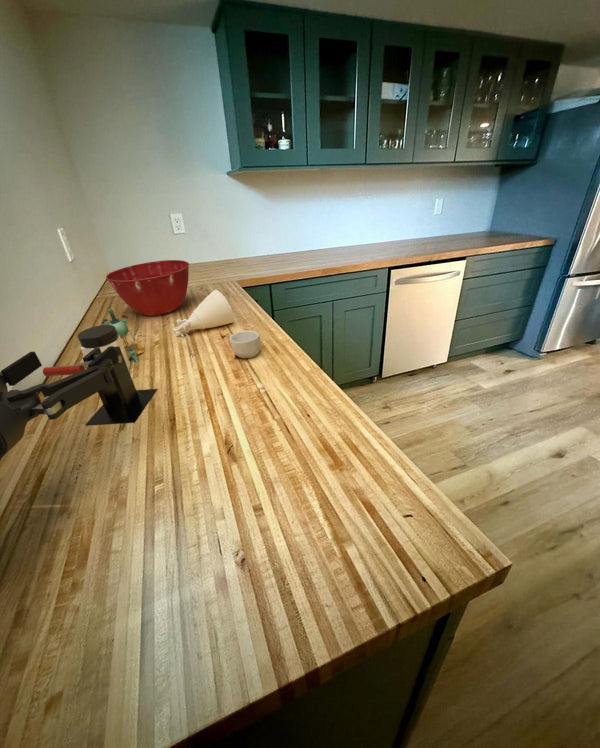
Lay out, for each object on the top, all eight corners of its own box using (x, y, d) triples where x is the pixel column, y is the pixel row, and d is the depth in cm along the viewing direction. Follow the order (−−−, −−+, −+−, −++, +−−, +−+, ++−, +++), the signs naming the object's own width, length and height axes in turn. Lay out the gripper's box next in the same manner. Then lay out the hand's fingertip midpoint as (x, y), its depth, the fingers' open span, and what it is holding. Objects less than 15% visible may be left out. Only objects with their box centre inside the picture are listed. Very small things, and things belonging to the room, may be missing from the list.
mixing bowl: (153, 328, 112) (138, 282, 104) (104, 317, 125) (88, 275, 118) (213, 302, 132) (205, 261, 124) (165, 295, 146) (155, 258, 138)
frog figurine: (109, 375, 85) (85, 318, 79) (111, 355, 101) (92, 306, 94) (148, 364, 89) (129, 309, 83) (145, 346, 104) (128, 299, 98)
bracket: (136, 427, 66) (111, 365, 59) (87, 429, 66) (56, 369, 59) (159, 393, 76) (139, 337, 69) (116, 395, 76) (92, 340, 69)
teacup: (266, 356, 88) (263, 337, 85) (238, 364, 85) (234, 345, 82) (252, 343, 96) (250, 325, 93) (226, 350, 93) (223, 332, 90)
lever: (80, 377, 54) (77, 362, 53) (44, 379, 54) (40, 365, 53) (124, 364, 66) (122, 352, 66) (95, 366, 67) (93, 354, 66)
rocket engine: (161, 310, 96) (215, 283, 103) (164, 324, 107) (213, 299, 114) (184, 343, 96) (236, 313, 103) (185, 354, 107) (232, 327, 114)
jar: (128, 380, 82) (110, 335, 76) (92, 386, 81) (71, 341, 75) (134, 363, 90) (118, 321, 84) (101, 369, 88) (83, 327, 82)
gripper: (-113, 469, 41) (15, 379, 59) (86, 459, 40) (153, 370, 58) (-160, 421, 37) (-8, 340, 56) (58, 408, 36) (139, 330, 55)
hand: (75, 355), depth 57 cm, fingers open, 13 cm apart
